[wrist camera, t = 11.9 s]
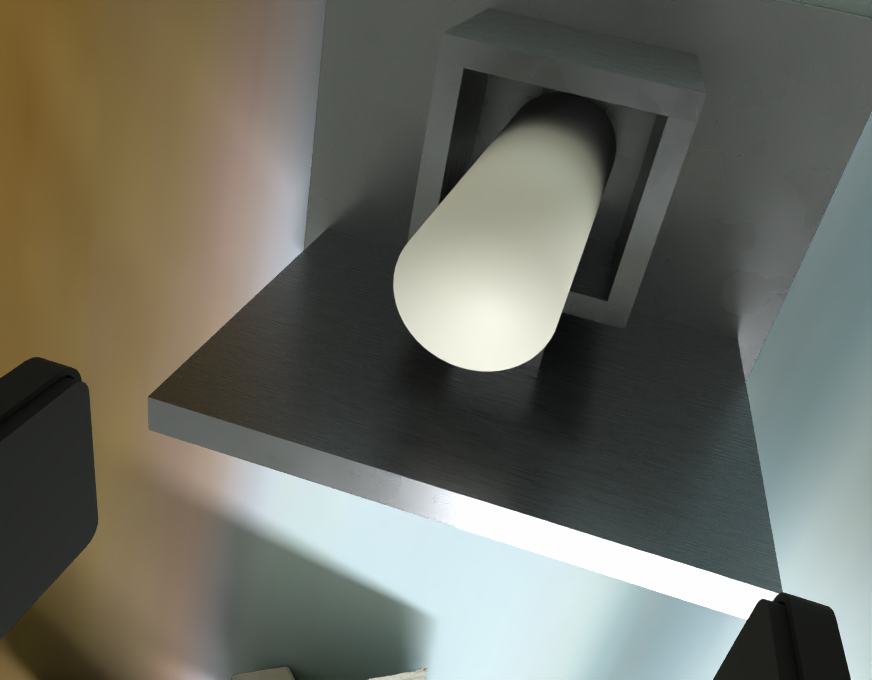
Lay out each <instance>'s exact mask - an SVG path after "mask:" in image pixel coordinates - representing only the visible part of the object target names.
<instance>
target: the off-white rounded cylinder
mask: <svg viewBox="0 0 872 680" xmlns="http://www.w3.org/2000/svg"><path fill="white" fill-rule="evenodd" d="M615 156H616V139H615V134H614V131H613V128H612V126H611V124H610V122H609V120H608V118H607V117H606V115H605V114H604V113H603V112H602V110H601V109H600V108H599V107H598V106H596V105H595V104H594V103H593V102H591V101H589V100H588V99H586V98H584V97H582V96H579V95H576V94H571V93H566V92H555V93H548V94H544V95H541V96H539V97H536V98H534V99H533V100H531V101H529V102H528V103H527V104H525V105H524V106H523V107H522V108H521V109H520V110H519V111H518V112H517V113H516V114H515V116H514V117H513V118H512V119H511V120H510V122H509V123H508V124H507V125H506V126H505V127H504V129H503V130H502V131H501V132H500V133H499V135H498V136H497V137H496V138H495V139H494V141H493V142H492V143H491V144H490V145H489V146H488V148H487V149H486V150H485V151H484V152H483V154H482V155H481V156H480V157H479V158H478V160H477V161H476V162H475V163H474V164H473V166H472V167H471V168H470V169H469V170H468V171H467V173H466V174H465V175H464V176H463V177H462V179H461V180H460V181H459V182H458V183H457V185H456V186H455V187H454V188H453V189H452V190H451V192H450V193H449V194H448V195H447V196H446V198H445V199H444V200H443V201H442V202H441V204H440V205H439V206H438V207H437V208H436V210H435V211H434V212H433V213H432V214H431V215H430V217H429V218H428V219H427V220H426V221H425V223H424V224H423V225H422V226H421V227H420V229H419V230H418V231H417V232H416V233H415V234H414V236H413V237H412V238H411V239H410V240H409V242H408V243H407V244H406V246H405V247H404V248H403V250H402V252H401V254H400V256H399V258H398V261H397V264H396V267H395V272H394V281H393V288H394V297H395V302H396V305H397V308H398V311H399V314H400V316H401V318H402V320H403V322H404V324H405V325H406V327H407V329H408V330H409V332H410V333H411V334H412V335H413V336H414V338H415V339H416V340H417V341H418V342H419V343H420V344H421V345H422V346H423V347H424V348H426V349H427V350H428V351H429V352H431V353H432V354H433V355H435V356H437V357H438V358H440V359H442V360H444V361H446V362H448V363H450V364H452V365H455V366H458V367H461V368H465V369H469V370H475V371H501V370H505V369H510V368H513V367H516V366H519V365H521V364H523V363H525V362H527V361H529V360H530V359H532V358H533V357H534V356H536V355H537V354H538V353H539V352H540V351H541V350H542V349H543V348H544V347H545V346H546V345H547V343H548V342H549V341H550V339H551V338H552V336H553V334H554V332H555V330H556V327H557V324H558V322H559V319H560V316H561V313H562V310H563V307H564V304H565V302H566V299H567V296H568V293H569V290H570V287H571V284H572V282H573V279H574V276H575V273H576V270H577V267H578V264H579V262H580V259H581V256H582V253H583V250H584V247H585V244H586V242H587V239H588V236H589V233H590V230H591V227H592V224H593V222H594V219H595V216H596V213H597V210H598V207H599V204H600V202H601V199H602V196H603V193H604V190H605V187H606V184H607V182H608V179H609V176H610V173H611V170H612V167H613V164H614V161H615Z"/></svg>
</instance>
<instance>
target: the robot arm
mask: <svg viewBox="0 0 872 680" xmlns="http://www.w3.org/2000/svg"><path fill="white" fill-rule="evenodd" d="M97 525H98V511H97V497H96V483H95V469H94V455H93V440H92V426H91V412H90V398H89V389H88V386H87V385H86V383H84V382H82V380H81V376H80V374H79V372H78V371H77V370H76V369H74V368H71V367H68V366H65V365H62V364H59V363H56V362H52V361H49V360H46V359H43V358H40V357H34V358H31V359H29V360H27V361H25V362H23V363H22V364H20V365H19V366H18V367H16V368H15V369H13V370H12V371H10V372H9V373H7V374H6V375H4V376H3V377H2V378H0V639H1V638H2V637H3V636H4V635H5V634H6V633H7V632H8V631H9V630H10V628H11V627H12V626H13V625H14V624H15V623H16V622H17V621H18V620H19V619H20V618H21V617H22V615H23V614H24V613H25V612H26V611H27V610H28V609H29V608H30V607H31V606H32V605H33V604H34V603H35V601H36V600H37V599H38V598H39V597H40V596H41V595H42V594H43V593H44V592H45V591H46V590H47V589H48V587H49V586H50V585H51V584H52V583H53V582H54V581H55V580H56V579H57V578H58V577H59V576H60V575H61V573H62V572H63V571H64V570H65V569H66V568H67V567H68V566H69V565H70V564H71V563H72V562H73V560H74V559H75V558H76V557H77V556H78V555H79V554H80V553H81V552H82V551H83V550H84V549H85V548H86V546H87V545H88V544H89V543H90V541H91V540H92V538H93V536H94V534H95V531H96V529H97ZM713 680H851V678H850V674H849V670H848V666H847V662H846V658H845V653H844V649H843V645H842V641H841V637H840V633H839V629H838V624H837V620H836V617H835V614H834V612H833V610H832V609H831V608H830V607H828V606H825V605H822V604H819V603H816V602H813V601H809V600H806V599H803V598H800V597H797V596H794V595H790V594H787V593H782V592H781V593H779V594H778V595H777V596H776V597H775V598H774V600H773V601H770V600H767V599H761V600H759V601H758V603H757V604H756V605H755V607H754V609H753V611H752V612H751V614H750V616H749V618H748V619H747V621H746V623H745V625H744V626H743V628H742V630H741V632H740V633H739V635H738V637H737V639H736V640H735V642H734V644H733V646H732V647H731V649H730V651H729V653H728V654H727V656H726V658H725V660H724V661H723V663H722V665H721V667H720V668H719V670H718V672H717V674H716V675H715V677H714V679H713Z"/></svg>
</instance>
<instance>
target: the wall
mask: <svg viewBox="0 0 872 680" xmlns="http://www.w3.org/2000/svg"><path fill="white" fill-rule="evenodd" d="M426 670H427V669H426V668H420V670H416V671H415V672H406V673H400V674H396V675H391V676H385V677H381V678H372V679H369V680H426V679H425V674H426V673H425V672H427V671H426ZM232 680H295V679H294V677H293V675H292V673H291V671H290V669H289V667H279V668H273V669H266V670H260V671H254V672H248V673H242V674H236V675H233V676H232Z"/></svg>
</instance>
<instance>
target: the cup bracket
mask: <svg viewBox="0 0 872 680" xmlns="http://www.w3.org/2000/svg"><path fill="white" fill-rule="evenodd" d="M555 92H566V93H571V94H576V95H579V96H582V97H584V98H586V99H588V100H589V101H591V102H593V103H594V104H595V105H596V106H598V107H599V108H600V109H601V110H602V112H603V113H604V114H605V115H606V117H607V118H608V120H609V122H610V124H611V126H612V128H613V131H614V134H615V139H616V156H615V161H614V164H613V167H612V170H611V173H610V176H609V179H608V182H607V184H606V187H605V190H604V193H603V196H602V199H601V202H600V204H599V207H598V210H597V213H596V216H595V219H594V222H593V224H592V227H591V230H590V233H589V236H588V239H587V242H586V244H585V247H584V250H583V253H582V256H581V259H580V262H579V264H578V267H577V270H576V273H575V276H574V279H573V282H572V284H571V287H570V290H569V293H568V296H567V299H566V302H565V304H564V307H563V310H562V313H561V316H560V319H559V322H558V324H557V327H556V330H555V332H554V334H553V336H552V338H551V339H550V341H549V342H548V343H547V345H546V346H545V347H544V348H543V349H542V350H541V351H540V352H539V353H538V354H537V355H536V356H534V357H533V358H532V359H530V360H529V361H527V362H525V363H523V364H521V365H519V366H516V367H513V368H510V369H505V370H501V371H475V370H469V369H465V368H461V367H458V366H455V365H452V364H450V363H448V362H446V361H444V360H442V359H440V358H438V357H437V356H435V355H433V354H432V353H431V352H429V351H428V350H427V349H426V348H424V347H423V346H422V345H421V344H420V343H419V342H418V341H417V340H416V339H415V338H414V336H413V335H412V334H411V333H410V332H409V330H408V329H407V327H406V325H405V324H404V322H403V320H402V318H401V316H400V314H399V311H398V308H397V305H396V302H395V297H394V288H393V281H394V272H395V267H396V264H397V261H398V258H399V256H400V254H401V252H402V250H403V248H404V247H405V246H406V244H407V243H408V242H409V240H410V239H411V238H412V237H413V236H414V234H415V233H416V232H417V231H418V230H419V229H420V227H421V226H422V225H423V224H424V223H425V221H426V220H427V219H428V218H429V217H430V215H431V214H432V213H433V212H434V211H435V210H436V208H437V207H438V206H439V205H440V204H441V202H442V201H443V200H444V199H445V198H446V196H447V195H448V194H449V193H450V192H451V190H452V189H453V188H454V187H455V186H456V185H457V183H458V182H459V181H460V180H461V179H462V177H463V176H464V175H465V174H466V173H467V171H468V170H469V169H470V168H471V167H472V166H473V164H474V163H475V162H476V161H477V160H478V158H479V157H480V156H481V155H482V154H483V152H484V151H485V150H486V149H487V148H488V146H489V145H490V144H491V143H492V142H493V141H494V139H495V138H496V137H497V136H498V135H499V133H500V132H501V131H502V130H503V129H504V127H505V126H506V125H507V124H508V123H509V122H510V120H511V119H512V118H513V117H514V116H515V114H516V113H517V112H518V111H519V110H520V109H521V108H522V107H523V106H524V105H525V104H527V103H528V102H529V101H531V100H533V99H534V98H536V97H539V96H541V95H544V94H548V93H555ZM871 111H872V18H870V17H866V16H861V15H856V14H852V13H847V12H842V11H838V10H833V9H828V8H824V7H819V6H814V5H809V4H805V3H800V2H795V1H791V0H327V3H326V14H325V25H324V36H323V47H322V57H321V68H320V79H319V90H318V101H317V112H316V123H315V134H314V145H313V156H312V167H311V178H310V189H309V200H308V211H307V221H306V232H305V243H304V251H303V252H302V253H301V254H300V255H298V256H297V257H296V258H295V259H294V260H293V261H292V262H291V263H290V264H289V265H288V266H287V267H286V268H285V269H284V270H282V271H281V272H280V273H279V274H278V275H277V276H276V277H275V278H274V279H273V280H272V281H271V282H270V283H269V284H268V285H267V286H265V287H264V288H263V289H262V290H261V291H260V292H259V293H258V294H257V295H256V296H255V297H254V298H253V299H252V300H251V301H249V302H248V303H247V304H246V305H245V306H244V307H243V308H242V309H241V310H240V311H239V312H238V313H237V314H236V315H235V316H234V317H232V318H231V319H230V320H229V321H228V322H227V323H226V324H225V325H224V326H223V327H222V328H221V329H220V330H219V331H218V332H216V333H215V334H214V335H213V336H212V337H211V338H210V339H209V340H208V341H207V342H206V343H205V344H204V345H203V346H202V347H201V348H199V349H198V350H197V351H196V352H195V353H194V354H193V355H192V356H191V357H190V358H189V359H188V360H187V361H186V362H185V363H183V364H182V365H181V366H180V367H179V368H178V369H177V370H176V371H175V372H174V373H173V374H172V375H171V376H170V377H169V378H168V379H166V380H165V381H164V382H163V383H162V384H161V385H160V386H159V387H158V388H157V389H156V390H155V391H154V392H153V393H152V394H150V395H149V396H148V421H149V430H151V431H154V432H158V433H161V434H164V435H167V436H170V437H173V438H177V439H180V440H183V441H186V442H189V443H192V444H195V445H199V446H202V447H205V448H208V449H211V450H214V451H217V452H221V453H224V454H227V455H230V456H233V457H236V458H239V459H243V460H246V461H249V462H252V463H255V464H258V465H262V466H265V467H268V468H271V469H274V470H277V471H280V472H284V473H287V474H290V475H293V476H296V477H299V478H302V479H306V480H309V481H312V482H315V483H318V484H321V485H324V486H328V487H331V488H334V489H337V490H340V491H343V492H347V493H350V494H353V495H356V496H359V497H362V498H365V499H369V500H372V501H375V502H378V503H381V504H384V505H387V506H391V507H394V508H397V509H400V510H403V511H406V512H409V513H413V514H416V515H419V516H422V517H425V518H428V519H432V520H435V521H438V522H441V523H444V524H447V525H450V526H454V527H457V528H460V529H463V530H466V531H469V532H472V533H476V534H479V535H482V536H485V537H488V538H491V539H494V540H498V541H501V542H504V543H507V544H510V545H513V546H517V547H520V548H523V549H526V550H529V551H532V552H535V553H539V554H542V555H545V556H548V557H551V558H554V559H557V560H561V561H564V562H567V563H570V564H573V565H576V566H579V567H583V568H586V569H589V570H592V571H595V572H598V573H602V574H605V575H608V576H611V577H614V578H617V579H620V580H624V581H627V582H630V583H633V584H636V585H639V586H642V587H646V588H649V589H652V590H655V591H658V592H661V593H664V594H668V595H671V596H674V597H677V598H680V599H683V600H687V601H690V602H693V603H696V604H699V605H702V606H705V607H709V608H712V609H715V610H718V611H721V612H724V613H727V614H731V615H734V616H737V617H740V618H743V619H746V620H747V619H748V618H749V616H750V614H751V612H752V611H753V609H754V607H755V605H756V604H757V603H758V601H759V600H761V599H767V600H770V601H773V600H774V598H775V597H776V596H777V595H778V594H779V593H781V592H782V586H781V580H780V575H779V569H778V563H777V558H776V552H775V546H774V541H773V535H772V529H771V524H770V518H769V512H768V507H767V501H766V495H765V490H764V484H763V478H762V473H761V467H760V461H759V456H758V450H757V445H756V439H755V433H754V428H753V422H752V416H751V411H750V405H749V399H748V394H747V388H746V381H747V379H748V376H749V374H750V372H751V370H752V368H753V366H754V364H755V361H756V359H757V357H758V355H759V353H760V351H761V348H762V346H763V344H764V342H765V340H766V338H767V336H768V333H769V331H770V329H771V327H772V325H773V323H774V320H775V318H776V316H777V314H778V312H779V310H780V307H781V305H782V303H783V301H784V299H785V297H786V295H787V292H788V290H789V288H790V286H791V284H792V282H793V279H794V277H795V275H796V273H797V271H798V269H799V267H800V264H801V262H802V260H803V258H804V256H805V254H806V251H807V249H808V247H809V245H810V243H811V241H812V239H813V236H814V234H815V232H816V230H817V228H818V226H819V223H820V221H821V219H822V217H823V215H824V213H825V210H826V208H827V206H828V204H829V202H830V200H831V198H832V195H833V193H834V191H835V189H836V187H837V185H838V182H839V180H840V178H841V176H842V174H843V172H844V170H845V167H846V165H847V163H848V161H849V159H850V157H851V154H852V152H853V150H854V148H855V146H856V144H857V142H858V139H859V137H860V135H861V133H862V131H863V129H864V126H865V124H866V122H867V120H868V118H869V116H870V114H871ZM782 593H783V592H782Z"/></svg>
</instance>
